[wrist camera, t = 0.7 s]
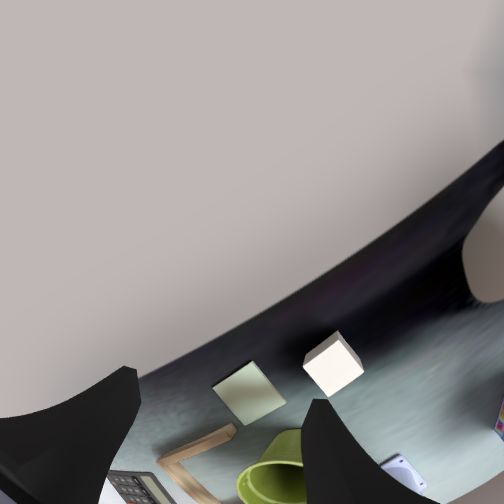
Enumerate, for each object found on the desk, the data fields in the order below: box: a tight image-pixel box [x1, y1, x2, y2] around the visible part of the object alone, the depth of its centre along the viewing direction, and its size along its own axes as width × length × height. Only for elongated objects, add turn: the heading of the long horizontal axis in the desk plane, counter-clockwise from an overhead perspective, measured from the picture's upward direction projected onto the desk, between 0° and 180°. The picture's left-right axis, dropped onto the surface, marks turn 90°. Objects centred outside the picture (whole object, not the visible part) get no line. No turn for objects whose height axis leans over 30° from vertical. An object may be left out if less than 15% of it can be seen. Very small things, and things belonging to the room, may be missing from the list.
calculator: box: [106, 470, 177, 504], centre depth 31 cm, size 12×1×15 cm
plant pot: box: [236, 429, 307, 504], centre depth 22 cm, size 9×9×9 cm
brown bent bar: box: [156, 361, 287, 504], centre depth 26 cm, size 19×21×2 cm
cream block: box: [303, 331, 364, 397], centre depth 24 cm, size 4×4×4 cm
